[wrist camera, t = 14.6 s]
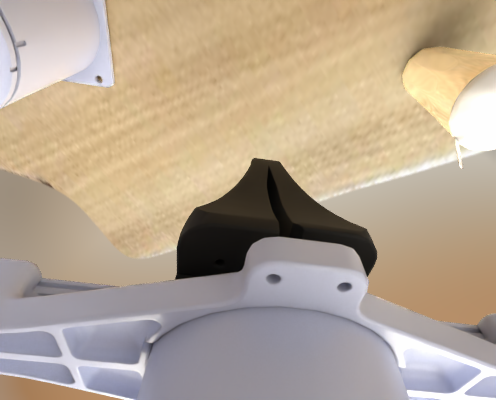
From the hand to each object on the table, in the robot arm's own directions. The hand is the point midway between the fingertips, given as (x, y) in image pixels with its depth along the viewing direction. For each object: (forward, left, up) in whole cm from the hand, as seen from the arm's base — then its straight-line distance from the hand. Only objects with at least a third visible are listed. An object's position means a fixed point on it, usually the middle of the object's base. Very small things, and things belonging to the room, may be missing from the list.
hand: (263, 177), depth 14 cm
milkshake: (+11, +4, -11) cm, 16 cm away
